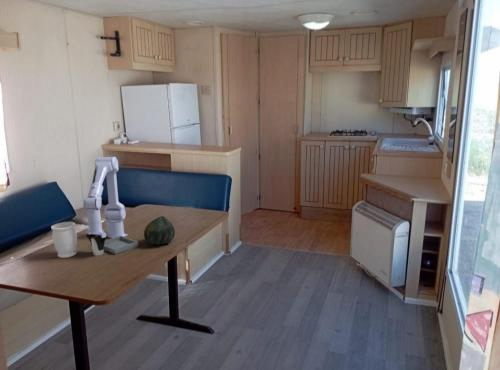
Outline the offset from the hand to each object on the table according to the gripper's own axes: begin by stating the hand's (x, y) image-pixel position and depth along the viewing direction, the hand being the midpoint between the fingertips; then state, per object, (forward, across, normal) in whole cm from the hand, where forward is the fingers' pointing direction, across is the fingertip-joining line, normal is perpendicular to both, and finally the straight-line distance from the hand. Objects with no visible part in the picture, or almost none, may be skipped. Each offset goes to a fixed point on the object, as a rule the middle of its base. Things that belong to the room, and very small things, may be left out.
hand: (97, 248), depth 191 cm
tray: (+2, 0, +10) cm, 11 cm away
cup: (+2, 0, 0) cm, 2 cm away
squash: (+3, +13, +27) cm, 30 cm away
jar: (+3, -11, -10) cm, 15 cm away
